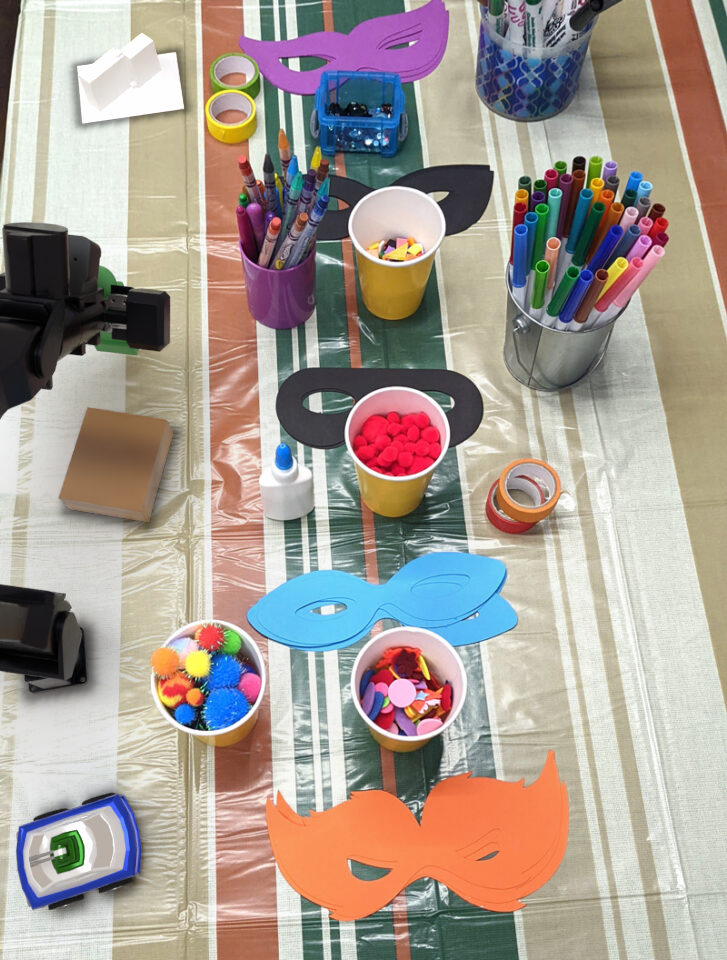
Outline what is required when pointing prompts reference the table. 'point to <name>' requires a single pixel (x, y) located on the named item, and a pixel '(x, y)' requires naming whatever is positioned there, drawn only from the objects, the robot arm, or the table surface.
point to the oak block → (117, 464)
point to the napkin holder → (129, 83)
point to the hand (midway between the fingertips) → (110, 296)
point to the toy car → (78, 851)
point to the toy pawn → (107, 342)
